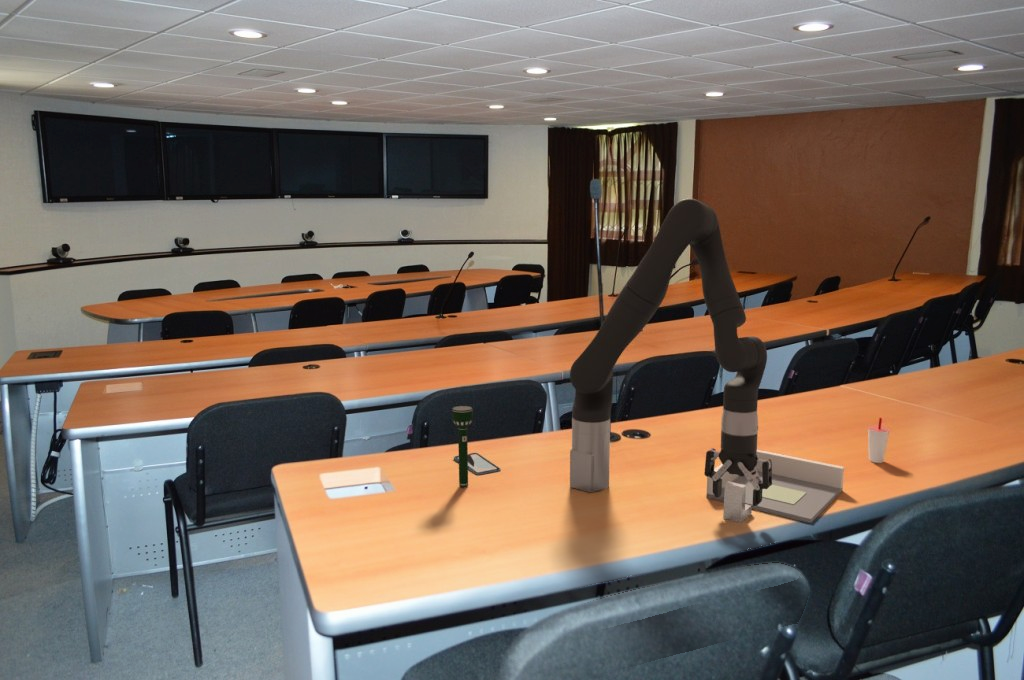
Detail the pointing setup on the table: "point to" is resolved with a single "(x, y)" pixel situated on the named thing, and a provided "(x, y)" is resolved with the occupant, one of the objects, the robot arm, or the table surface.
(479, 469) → the smartphone
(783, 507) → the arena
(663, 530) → the table surface
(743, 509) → the bracket
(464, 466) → the flashlight
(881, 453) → the cup
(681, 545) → the table surface
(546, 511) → the table surface
